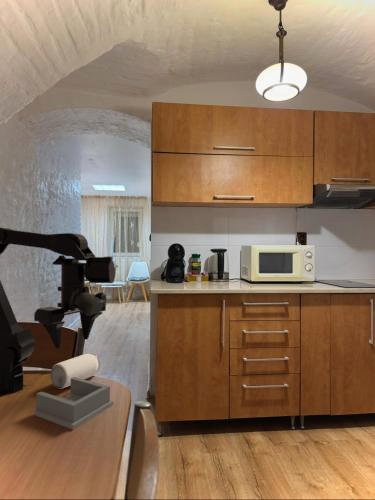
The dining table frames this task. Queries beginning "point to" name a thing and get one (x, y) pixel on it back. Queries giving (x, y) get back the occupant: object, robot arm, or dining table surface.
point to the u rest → (74, 403)
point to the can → (74, 370)
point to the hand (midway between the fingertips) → (72, 343)
